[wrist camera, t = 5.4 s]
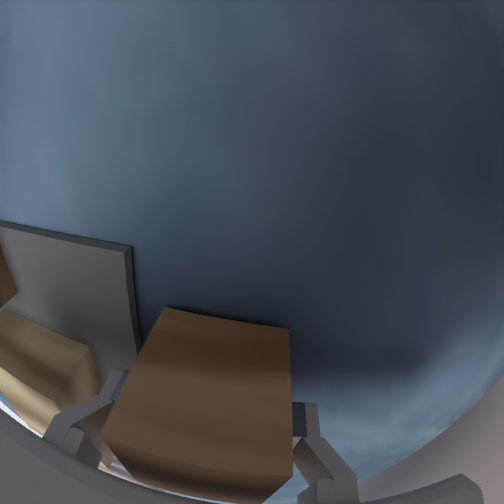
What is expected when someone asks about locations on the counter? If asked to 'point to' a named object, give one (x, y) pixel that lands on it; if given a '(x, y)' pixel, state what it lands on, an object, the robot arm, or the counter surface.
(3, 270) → the block
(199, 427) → the oak block
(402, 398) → the counter surface
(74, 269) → the mat
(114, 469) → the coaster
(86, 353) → the base block
